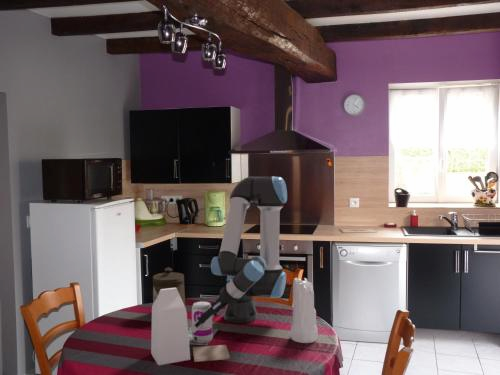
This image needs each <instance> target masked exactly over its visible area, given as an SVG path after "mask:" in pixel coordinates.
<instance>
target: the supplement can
mask: <svg viewBox="0 0 500 375" xmlns="http://www.w3.org/2000/svg"><path fill="white" fill-rule="evenodd" d="M211 306H212V305H211V302H209V301H195V302H194V303H193V304H192V307H191V326H192V325H193V324H194V323H195V322H196V321H197V320H198V317H201V316H202V315H203V314H204V313H205V312H206V311H207V310H208V309H209V308H210V307H211ZM213 325H214V324H213V317H212V316H211V317H210V318H209V319H207V320H206V321H205V323H204V324H203V325H202V326H201V327H200V328H199V329H198V330H197V331H196V332H195V333H193V332H192V331H191V332H192V334H191V336H192V341H194V342H195V343H198V344H206V343H209V342H211V341H212V340H213V338H214V337H213V335H214V334H213V332H214V331H213Z"/></svg>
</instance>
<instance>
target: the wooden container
mask: <svg viewBox="0 0 500 375" xmlns="http://www.w3.org/2000/svg"><path fill="white" fill-rule="evenodd" d="M172 271H173V268H171V267H169V266H167V267H165V268H164V272H161V273H160V272H159V273H156V274H154V275H153V276H152V300H153V303H154V302H155V300H156V298H157V297H158V294H159V292H160V289H168V288H177V290H178V292H179V294H180V297H181V299H182V301H183V303H184V306H185V307H186V295H185V294H186V293H185V292H186V291H185V274H183V273H181V272H174V271H173V272H172ZM153 303H152V304H153Z"/></svg>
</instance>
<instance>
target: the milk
mask: <svg viewBox="0 0 500 375" xmlns="http://www.w3.org/2000/svg"><path fill="white" fill-rule="evenodd" d="M188 325H189V324H188V314H187V308H186V305H185V306H184V303H183V301H182V299H181V297H180V294H179V292H178V290H177V288H168V289H160V292H159V294H158V297H157V298H156V300H155V302H154V303H152V306H151V334H150V335H151V340H150V341H151V343H150V344H151V345H150V346H151V347H150V348H151V350H150V354H151V355H152V357H153V359H154V361H155V362H156V364H157V366H163V365H169V364H173V363H179V362H184V361H191V351H190V339H189V326H188Z"/></svg>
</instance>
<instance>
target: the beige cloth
mask: <svg viewBox="0 0 500 375" xmlns="http://www.w3.org/2000/svg"><path fill="white" fill-rule="evenodd" d="M192 354H193V360H194V363H196V362H209V361H220V360H221V361H223V360H230V359H231V358H230V353H229V349H228V347H227V344H219V345H217V344H216V345H207V346H205V345H204V346H192Z"/></svg>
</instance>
